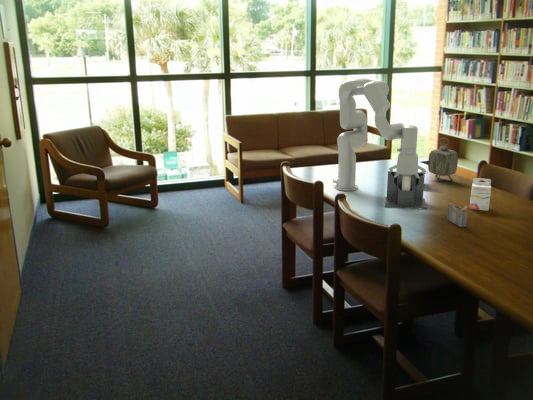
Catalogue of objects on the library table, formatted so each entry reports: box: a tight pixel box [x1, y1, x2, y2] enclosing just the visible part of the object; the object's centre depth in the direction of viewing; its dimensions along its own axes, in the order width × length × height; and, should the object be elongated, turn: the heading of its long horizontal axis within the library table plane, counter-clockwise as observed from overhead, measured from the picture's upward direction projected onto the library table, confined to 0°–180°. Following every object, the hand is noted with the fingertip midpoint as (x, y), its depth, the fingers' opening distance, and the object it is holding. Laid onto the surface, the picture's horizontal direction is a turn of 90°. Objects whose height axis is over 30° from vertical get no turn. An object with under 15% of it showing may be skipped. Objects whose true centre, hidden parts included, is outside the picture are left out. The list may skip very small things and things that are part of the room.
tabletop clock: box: [427, 137, 459, 182], centre depth 310 cm, size 14×9×25 cm, turn 34°
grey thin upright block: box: [446, 203, 470, 228], centre depth 239 cm, size 11×3×10 cm, turn 13°
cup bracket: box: [383, 170, 428, 210], centre depth 268 cm, size 15×20×15 cm
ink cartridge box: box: [469, 177, 492, 212], centre depth 258 cm, size 9×5×15 cm, turn 71°
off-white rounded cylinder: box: [402, 175, 411, 191], centre depth 266 cm, size 4×4×12 cm
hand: (406, 185), depth 266 cm, fingers open, 9 cm apart
